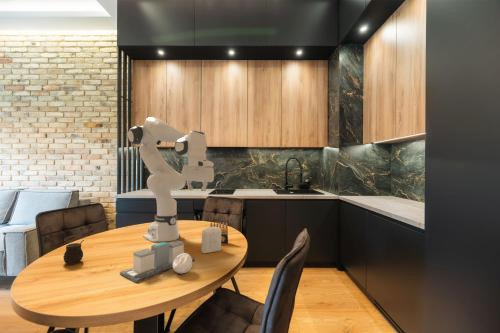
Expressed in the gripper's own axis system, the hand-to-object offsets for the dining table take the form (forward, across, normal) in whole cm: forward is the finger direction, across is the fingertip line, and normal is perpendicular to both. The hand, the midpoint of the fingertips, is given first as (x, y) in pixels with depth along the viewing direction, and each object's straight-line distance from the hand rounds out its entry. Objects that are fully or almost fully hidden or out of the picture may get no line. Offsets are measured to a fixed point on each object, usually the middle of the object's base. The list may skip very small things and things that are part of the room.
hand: (196, 190), depth 127 cm
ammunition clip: (+31, -2, +19) cm, 37 cm away
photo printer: (+31, +5, +6) cm, 32 cm away
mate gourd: (+31, -32, -42) cm, 61 cm away
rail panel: (+31, +2, -22) cm, 38 cm away
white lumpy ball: (+31, +14, -20) cm, 40 cm away
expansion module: (+30, +2, -22) cm, 37 cm away
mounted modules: (+30, +2, -22) cm, 37 cm away
